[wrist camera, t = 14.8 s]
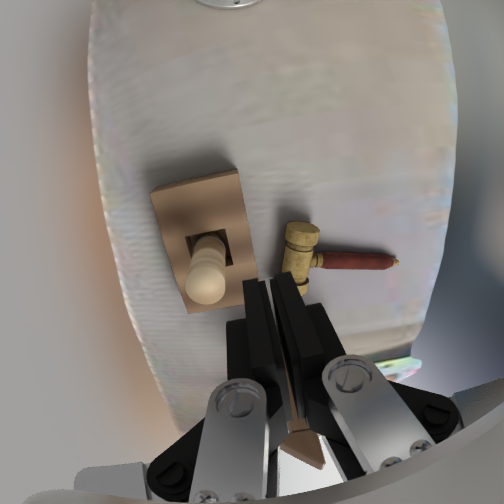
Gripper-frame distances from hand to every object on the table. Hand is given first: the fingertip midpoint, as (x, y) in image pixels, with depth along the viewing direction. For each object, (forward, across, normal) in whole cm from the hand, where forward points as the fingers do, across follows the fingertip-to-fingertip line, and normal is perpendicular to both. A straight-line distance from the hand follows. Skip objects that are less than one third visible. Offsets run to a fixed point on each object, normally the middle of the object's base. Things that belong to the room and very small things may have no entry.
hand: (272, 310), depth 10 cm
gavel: (+30, -14, +15) cm, 36 cm away
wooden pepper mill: (+28, +6, +8) cm, 30 cm away
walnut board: (+29, +6, +8) cm, 31 cm away
